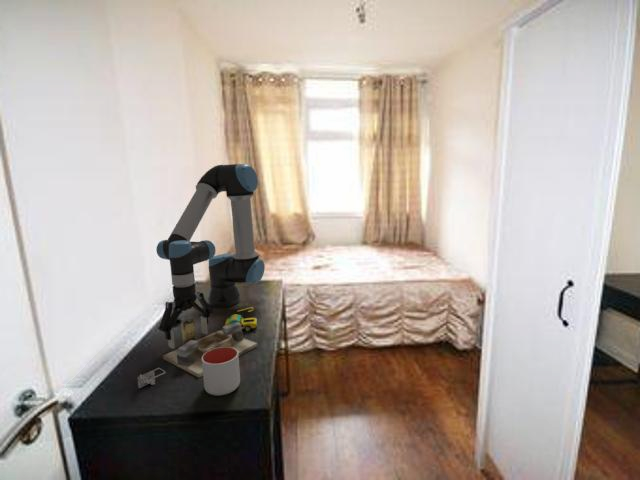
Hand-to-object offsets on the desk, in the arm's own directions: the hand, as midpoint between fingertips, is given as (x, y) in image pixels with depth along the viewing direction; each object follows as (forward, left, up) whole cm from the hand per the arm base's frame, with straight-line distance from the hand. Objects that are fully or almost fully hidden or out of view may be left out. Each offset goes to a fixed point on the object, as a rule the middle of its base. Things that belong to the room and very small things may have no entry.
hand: (189, 340), depth 131 cm
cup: (+11, +33, -1) cm, 35 cm away
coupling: (0, 0, -1) cm, 1 cm away
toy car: (-19, +7, -1) cm, 20 cm away
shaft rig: (0, +13, -1) cm, 13 cm away
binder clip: (+22, +15, -2) cm, 27 cm away
